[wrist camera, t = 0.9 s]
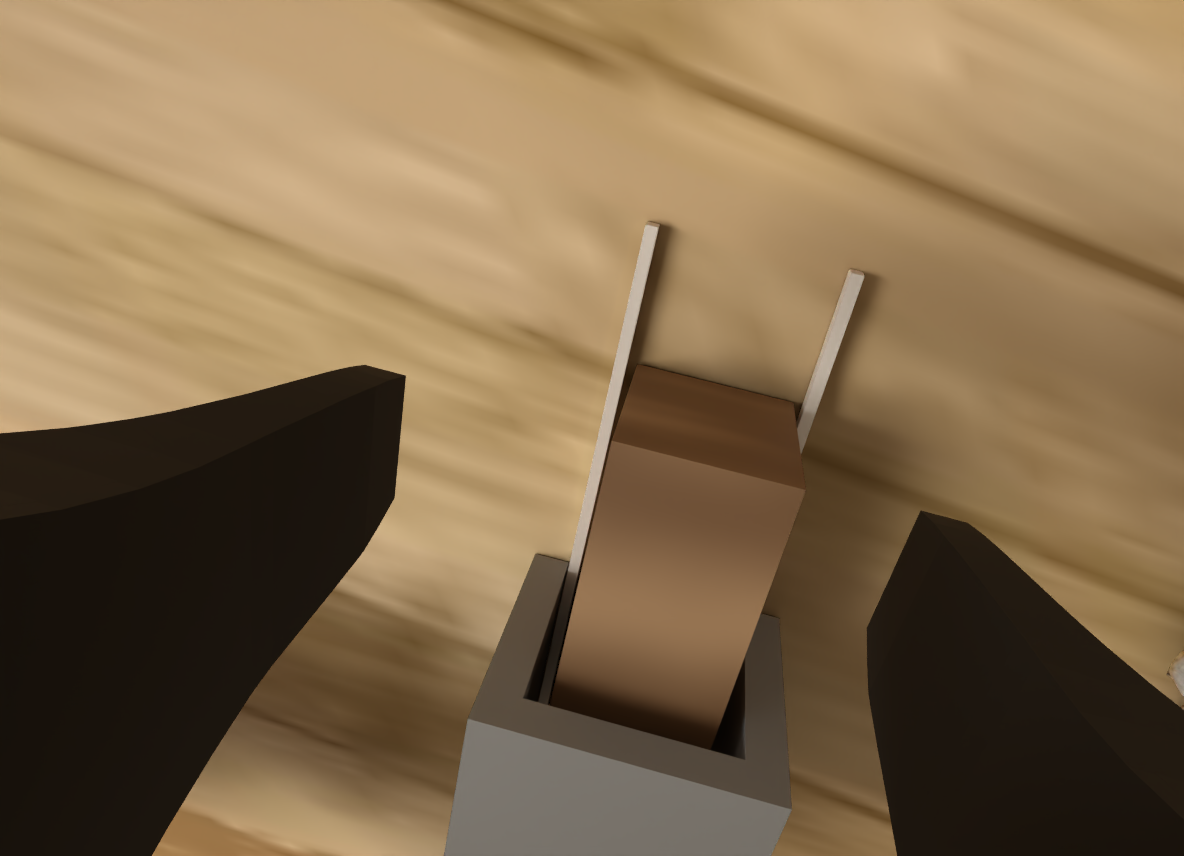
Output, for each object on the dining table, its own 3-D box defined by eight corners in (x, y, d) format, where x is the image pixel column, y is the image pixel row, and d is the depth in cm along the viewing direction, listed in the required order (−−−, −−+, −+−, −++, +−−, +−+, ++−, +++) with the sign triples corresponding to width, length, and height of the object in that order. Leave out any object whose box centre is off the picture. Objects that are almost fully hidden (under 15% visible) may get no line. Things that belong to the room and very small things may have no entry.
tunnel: (707, 806, 27) (697, 1018, 21) (496, 746, 27) (429, 937, 21) (907, 282, 19) (983, 387, 13) (604, 210, 19) (544, 281, 13)
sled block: (662, 785, 26) (648, 917, 22) (544, 751, 27) (509, 876, 23) (793, 402, 20) (806, 490, 16) (637, 364, 20) (611, 440, 16)
